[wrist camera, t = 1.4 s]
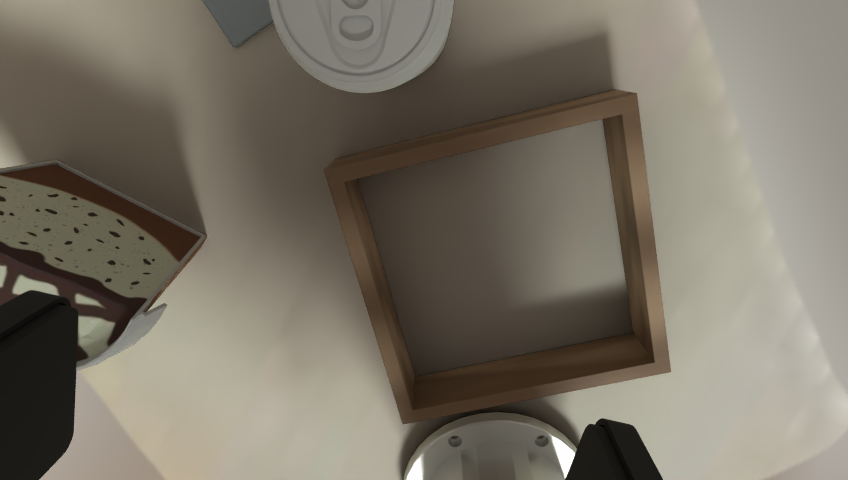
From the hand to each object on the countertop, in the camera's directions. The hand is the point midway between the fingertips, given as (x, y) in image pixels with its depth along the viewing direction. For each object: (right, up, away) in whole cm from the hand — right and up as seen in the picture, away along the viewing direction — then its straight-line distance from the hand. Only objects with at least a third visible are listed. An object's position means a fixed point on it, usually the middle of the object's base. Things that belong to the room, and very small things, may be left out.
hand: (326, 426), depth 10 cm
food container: (-17, +3, +23) cm, 29 cm away
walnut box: (+6, +3, +22) cm, 23 cm away
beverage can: (0, +15, +19) cm, 24 cm away
